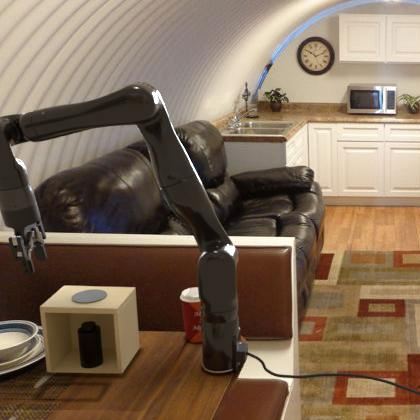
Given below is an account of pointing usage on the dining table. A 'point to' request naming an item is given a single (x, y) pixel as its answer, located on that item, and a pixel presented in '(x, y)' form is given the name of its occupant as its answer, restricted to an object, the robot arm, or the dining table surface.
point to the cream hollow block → (103, 316)
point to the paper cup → (192, 314)
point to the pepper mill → (90, 345)
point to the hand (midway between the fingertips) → (36, 266)
